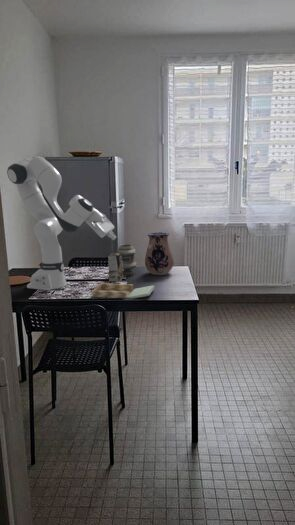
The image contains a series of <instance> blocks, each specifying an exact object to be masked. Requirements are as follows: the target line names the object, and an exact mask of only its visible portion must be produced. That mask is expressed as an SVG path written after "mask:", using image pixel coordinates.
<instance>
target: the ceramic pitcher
mask: <svg viewBox="0 0 295 525" xmlns="http://www.w3.org/2000/svg"><path fill="white" fill-rule="evenodd" d="M169 235H170V234H169V233H166V232H162V231H160V232H151V233H148V234H147V236H148V238H149V240H148V245H147V250H146V252H145V258H144V265H145V267H146V268H145V269H146V270H147V272H149V273H150V274H152V275H154V276H164V275H167V274H169V273H170V272H171V270H172V269H173V266H174V256H173V254H172V250H171V246H170V245H169V241H168V238H169Z"/></svg>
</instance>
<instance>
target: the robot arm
mask: <svg viewBox="0 0 295 525" xmlns="http://www.w3.org/2000/svg"><path fill="white" fill-rule="evenodd" d="M6 174H7V177H8V180H9V181H10V182H11V183H13V184H14V185H16V188H17V192H18V194H19V196H20V198H21V200H22V202H23V204H24V205H25V208H26V209H27V211H28V212H29V214H30V215H31V216H33V218H35V219H36V221H38V222H37V223H36V224H35V226H34V227H33V234H34V235H35V236H36V238H37V240H38V243H39V246H40V251H41V259H42V261H41V262H40V263H39V264H38V267H39V269H38V270H37V271H35V272H34V273H33V274H32V275H31V278H30V282H29V283H28V284H27V285H26V288H27V289H32V290H33V289H34V290H41V291H51V290H56V289H61V288H64V287H66V286H67V285H68V283H67V280H66V277H65V272H64V269H65V268H64V267H65V265H64V260H63V252H62V246H61V245H60V242H59V239H58V235H60V233H62V231H64V232H66V233H67V234H68V233H69V234H71V233H76V232H77V231H78V229H79V228H80V227H81V225H82V224H83V223H84V222H85V223H86V224H87V225H88V226H89V227H90V228H91V229H92V230H93V232H95V233H96V234H97V236H99V237H100V238H101V239H103V238H104V237H105V236H107V237H108V238H110V239H111V240H112V241H115V240H116V238H117V236H116V234H115V233H114V229H115V225H114V224H113V223H112V222H111V221H110V220H109V219H108V218H107V216H106V215H105V214H104V213H102V212H100V211H99V210H98V209H96V208H95V207H94V206H93V203H92V202H91V201H89V200H88V199H87V198H86V197H84V196H82V195H80V194H75V195H74V196H73V197H72V198H70V201H69V203H68V206H70V207H69V208H68V209H67V210H66V212H64V211H63V209H62V208H61V206H60V205H59V203H58V199H57V198H58V194H59V193H60V192H59V191H60V189H61V187H62V183H63V182H62V175H61V174H60V172H59V170H57V168H55V166H54V165H52V163H50V162H49V161H48V160H47V159H45V158H44V157H42V156H37V155H36V156H33V157H29V158H26V159H25V158H24V159H23V160H20V161H18V162H16V163H13V164H11V165H9V166H8V167H7V171H6ZM37 182H38V183H39V185H40V186H41V189H42V190H41V189H40V187H39V186H38V183H37Z"/></svg>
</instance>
